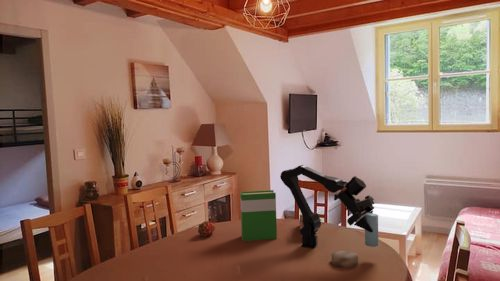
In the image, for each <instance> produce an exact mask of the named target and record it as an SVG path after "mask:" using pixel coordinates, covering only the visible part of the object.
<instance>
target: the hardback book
mask: <svg viewBox="0 0 500 281" xmlns="http://www.w3.org/2000/svg"><path fill="white" fill-rule="evenodd" d="M239 193H240V194H239V198H240V222H241V224H240V225H241V239H242V241H243V242H248V241H249V242H251V241H263V240H277V238H278V230H277V225H278V224H277V200H276V199H277V195H276V194H277V192H274V190H273V189H272V190H270V189H269V190H268V189H267V190H266V189H265V190H252V191H240V192H239Z"/></svg>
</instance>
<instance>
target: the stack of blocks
mask: <svg viewBox="0 0 500 281" xmlns="http://www.w3.org/2000/svg"><path fill="white" fill-rule="evenodd" d="M310 209H311V211H312V212H313V209H312V208H310ZM299 211H300V210H299ZM303 227H304V225H303V216H302V213H301V211H300V212H299V230H300V229H302V228H303ZM299 236H300V238H302V235H301V234H300V233H299Z"/></svg>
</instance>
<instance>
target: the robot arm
mask: <svg viewBox="0 0 500 281" xmlns="http://www.w3.org/2000/svg"><path fill="white" fill-rule="evenodd" d="M301 175H303V176H304V177H306V178H308V179H310V180H312V181H315V182H317V183H318V184H321V186H323V187H324V188H325V189H326V190H328V192H330V193H332V194H333V196H334V198H333V201H337V200H339V201H340V202H341V203H342V204H343V206H345V211H348V212H350V213H351V215H350V217H348V218H347V220H346V221H347V223H348V225H349V226H352V225H354V226H357V227H359V228H361V229H362V230H364V231H365V230H367V231H369V232H371V233H372V232H373V230H372V228H371V227H370V225H369V224H368V223H367V221H366V215H365V214H368V213H372V214H374V213H373V212H374V209H375V207H374V206H373V205H375V202H374V201H375V198H373V196H371V195H369V194H368V195H365V197H364V199H363V200H362V199H359V198H356V197H355V196H358V195H359V194H360V193H361V192H363V191H364V190H365V189H366V188H367V184H366V183H365V182H364V180H362V179H361V178H358V177H357V176H356V175H354V176H352V177H351V179H350V180H349V181H343V179H341V178H339V177H336V176H330V175H329V176H328V175H326V174H323V173H321V172H319V171H318V170H316V169H313V168H311V167H308V166H307V165H305V164H301V165H298V166H296V167H294V168H289V169H286V170H283V171H282V172H281V173H280V176H279V177H280V180H281V181H282V183H283V184H284V185H285V187H287V188H288V189H289V191H290V192H291V194H292V196H293V199H294V200H295V203H296V204H297V207H298V210H299V211H301V213H302V216H303V225H304V227H303V228H302V229H300V228H299V235H300V234H301V235H302V237H301V239H302V240H301V241H302V243H301V245H300V246H301V248H309V249H315V248H316V247H317V246H318V240H319V239H318V236H317V232H318V231H319V229H320V228H321V226H322V222H321V221H322V219H321V218H320V216H319V214H318V212H316V213H315V212H313V210H312V211H311V209H312V208H311V207H310V206H309V203H308V201H307V199H306V197H305V195H304V193H303V191H302V189H301V187H300V185H299V177H298V176H301ZM344 189H345V190H344ZM337 192H338V193H337ZM334 193H335V194H334Z"/></svg>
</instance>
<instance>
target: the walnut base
mask: <svg viewBox="0 0 500 281" xmlns="http://www.w3.org/2000/svg"><path fill="white" fill-rule="evenodd" d="M331 264H332V265H334V266H336V267H338V268H344V269H345V268H347V269H348V268H356V266H358V265H359V256H358V254H357V253H355V252H354V251H349V250H337V251H333V252H332V253H331Z"/></svg>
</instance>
